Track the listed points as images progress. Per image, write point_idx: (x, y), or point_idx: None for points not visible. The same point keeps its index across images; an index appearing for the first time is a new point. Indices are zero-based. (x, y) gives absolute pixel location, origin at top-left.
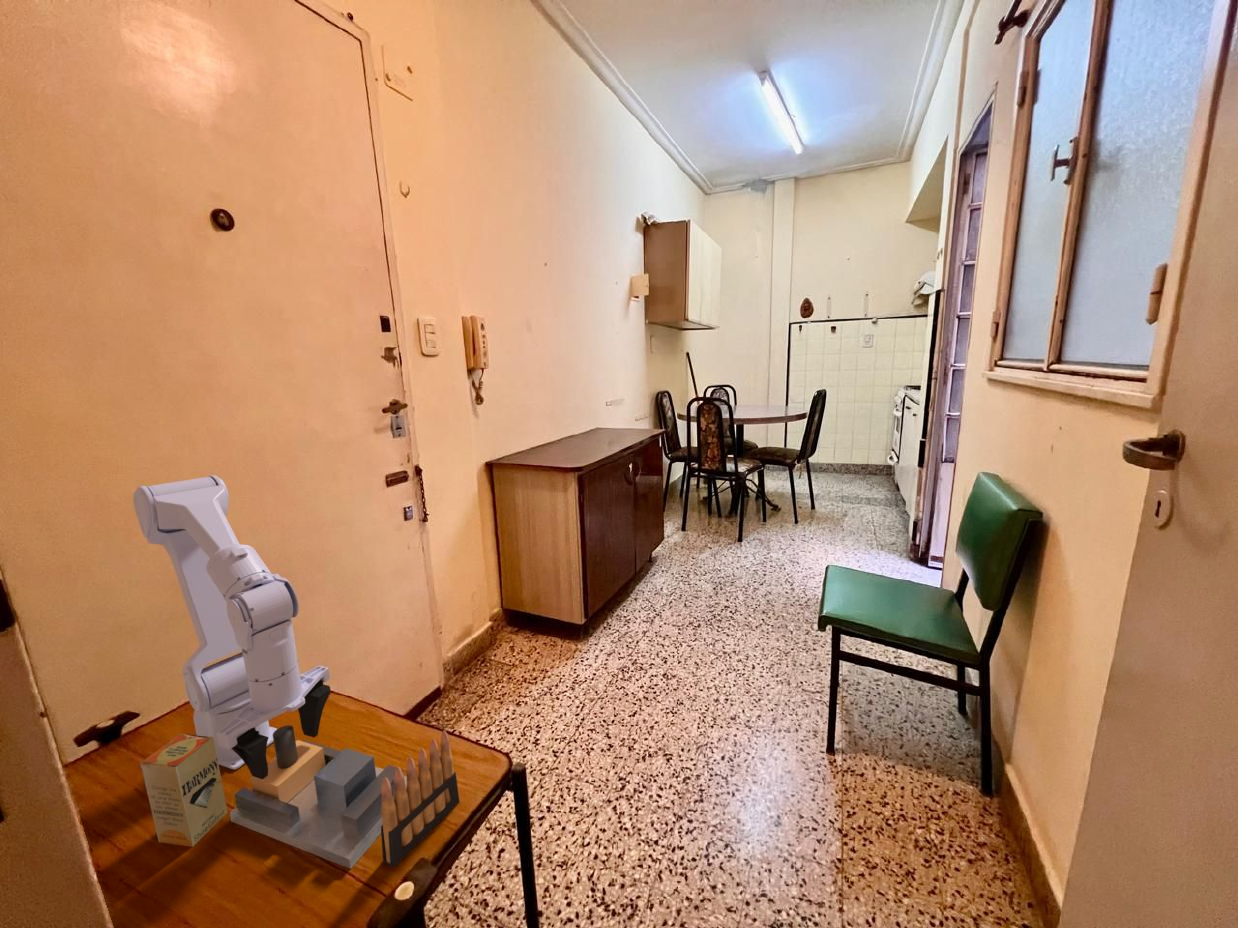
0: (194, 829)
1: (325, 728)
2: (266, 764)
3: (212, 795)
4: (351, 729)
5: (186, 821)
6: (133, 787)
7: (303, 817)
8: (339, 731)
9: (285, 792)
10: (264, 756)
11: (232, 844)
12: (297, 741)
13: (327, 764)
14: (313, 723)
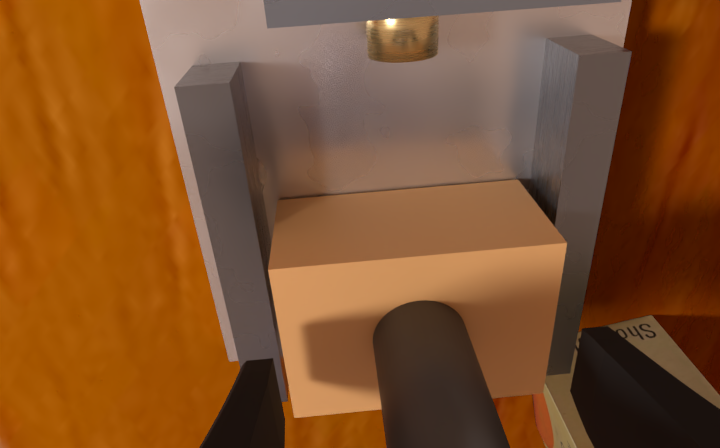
0: (666, 354)
1: (119, 396)
2: (645, 380)
3: None
4: (50, 311)
5: (715, 394)
6: None
7: (532, 33)
8: (92, 342)
9: (506, 208)
10: (705, 438)
11: (629, 217)
12: (302, 409)
13: (483, 3)
14: (257, 446)
